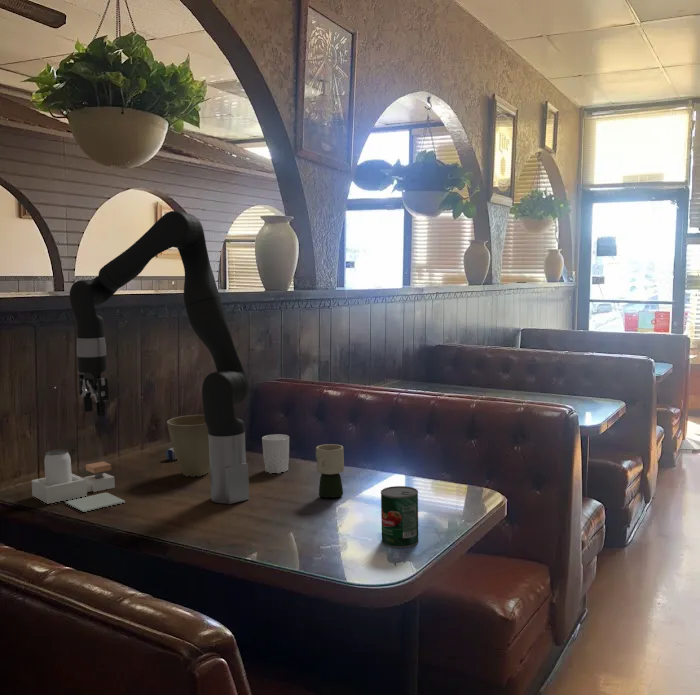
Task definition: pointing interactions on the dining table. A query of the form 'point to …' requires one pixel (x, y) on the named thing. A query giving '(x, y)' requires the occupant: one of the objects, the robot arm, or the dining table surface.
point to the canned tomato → (399, 516)
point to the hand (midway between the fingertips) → (94, 413)
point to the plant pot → (190, 444)
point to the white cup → (276, 453)
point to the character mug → (330, 469)
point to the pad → (95, 502)
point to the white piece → (70, 488)
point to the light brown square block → (98, 468)
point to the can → (57, 467)
